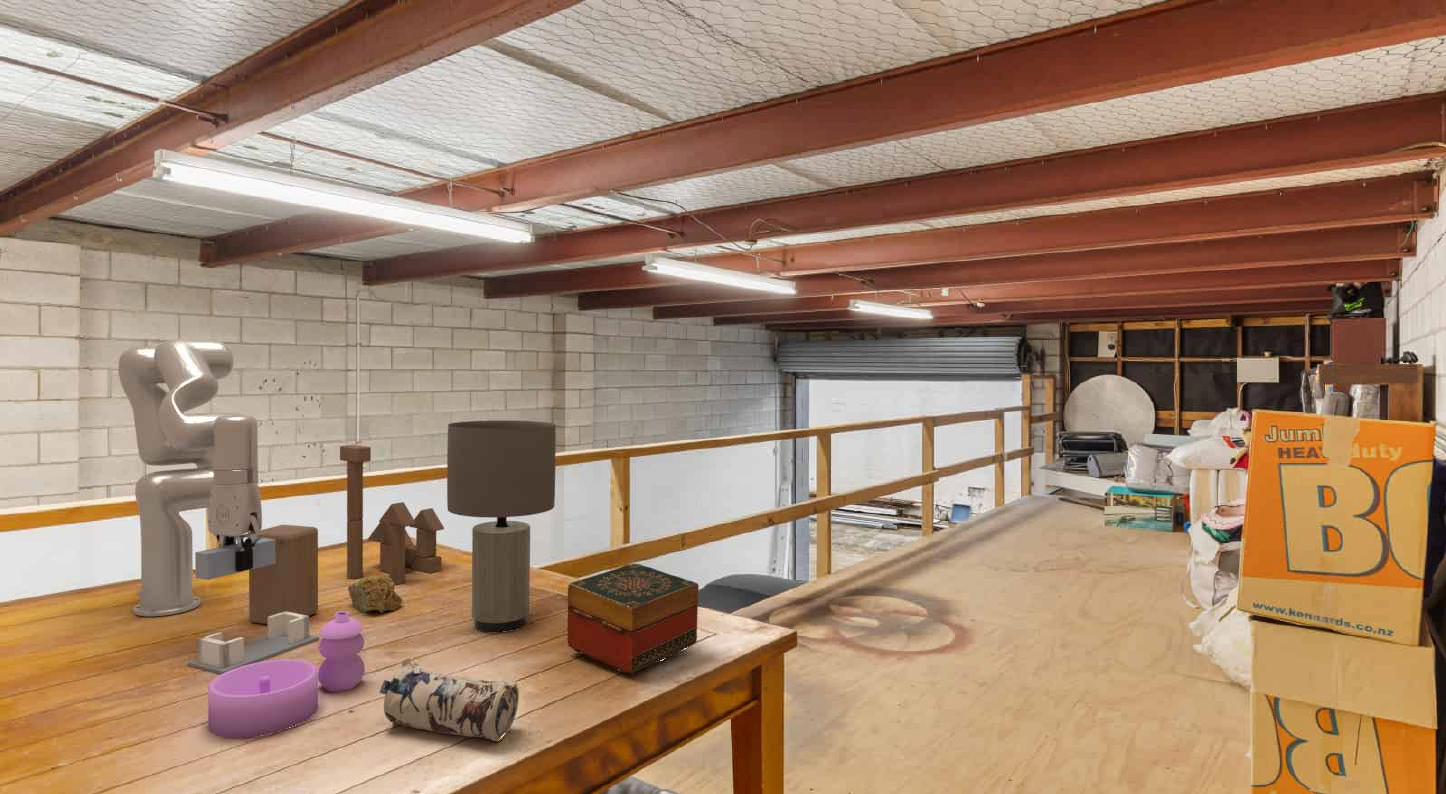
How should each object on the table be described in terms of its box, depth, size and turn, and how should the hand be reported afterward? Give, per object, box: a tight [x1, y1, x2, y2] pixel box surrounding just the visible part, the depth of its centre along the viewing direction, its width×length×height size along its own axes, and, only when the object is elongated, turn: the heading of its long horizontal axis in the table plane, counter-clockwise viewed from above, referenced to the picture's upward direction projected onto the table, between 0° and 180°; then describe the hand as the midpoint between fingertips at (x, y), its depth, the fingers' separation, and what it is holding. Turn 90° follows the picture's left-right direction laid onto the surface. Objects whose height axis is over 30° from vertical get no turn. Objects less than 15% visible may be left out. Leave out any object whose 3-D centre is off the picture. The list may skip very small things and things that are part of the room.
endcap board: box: [187, 611, 320, 675], centre depth 151 cm, size 10×20×5 cm, turn 157°
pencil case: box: [379, 657, 520, 743], centre depth 122 cm, size 22×8×10 cm, turn 73°
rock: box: [347, 576, 404, 613], centre depth 180 cm, size 12×9×10 cm
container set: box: [207, 610, 366, 739], centre depth 129 cm, size 25×15×13 cm, turn 151°
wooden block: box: [248, 524, 319, 625], centre depth 171 cm, size 10×10×20 cm
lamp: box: [446, 420, 557, 633], centre depth 170 cm, size 23×23×44 cm
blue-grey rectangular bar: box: [194, 538, 276, 581], centre depth 154 cm, size 14×4×5 cm, turn 157°
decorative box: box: [567, 563, 700, 675], centre depth 154 cm, size 20×22×16 cm
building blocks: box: [339, 444, 445, 586], centre depth 207 cm, size 19×25×35 cm
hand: (237, 567), depth 154 cm, fingers closed on blue-grey rectangular bar, 3 cm apart
